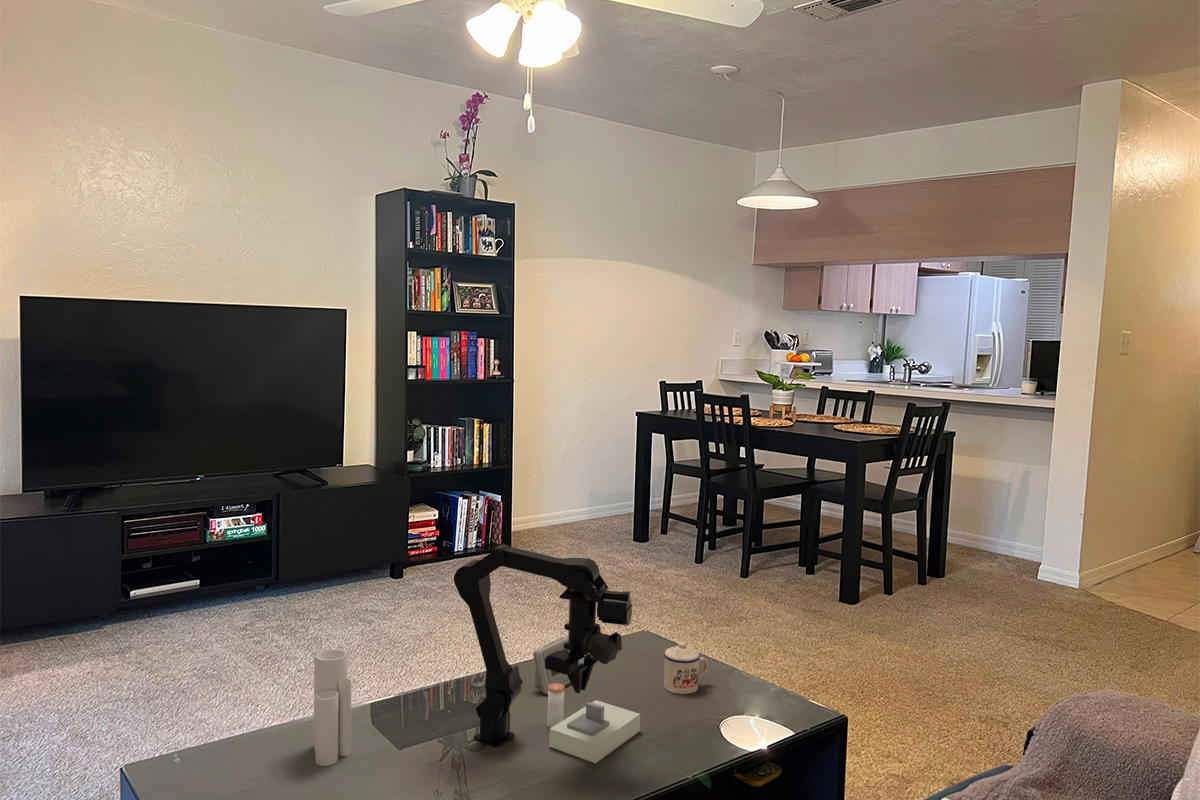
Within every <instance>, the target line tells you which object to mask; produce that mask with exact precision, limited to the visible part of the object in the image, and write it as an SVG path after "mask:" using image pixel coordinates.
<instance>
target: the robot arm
mask: <svg viewBox="0 0 1200 800" xmlns="http://www.w3.org/2000/svg"><path fill="white" fill-rule="evenodd" d="M500 567H505V568H508V569H511V570H514V571H515V570H517V571H519V572H523V573H528V574H533V575H537V576H539V577H545V578H548V579H552V580H554V581H556V582H558V583H559V584H560V585H562V586H563V587H565V588H566V589H565V590H564V591H563V592H561V594H560V595H559V598H560V599H561V600H569V602H568V622H567V623H565V624H564V628H563V629H564V630H565V631H568V635H567V636H568V642H566V643H564V648H565V649H569V651H570V652H568V653H565V652H562V651H556V652H554V653H552V654H550V655H548V656H547V657H546V658H545V669H548V670H552V671H555V672H558V673H562V674H565V675H566V674H567V676H568V678H569V680H570V682H571V683H570V684H571V686H572V688H573V690H574V693H576V694H581V690H582V691H585V690H586V689H587V686H588V682H589V680H590V677H591V673H592V671H593V668H594V666H595V665H596V664H597V663H598V662H599V663H601V664H603V665H607V664H610V662H612V661H615V660H616V659H617V656H618V653H619V652H620V651H621V650H622V649H623V647H622V645H623V642H622V635H621V634H620V633H618V632H617V631H616V632H613V633H612V634H608V633H602V632H601V626H600V624H599V623H597V622H596V618H598V620H599V621H601V623H603V624H610V625H619V626H621V625H622V626H630V624H631V622H632V621H631V620H632V614H633V604H632V599H631V592H630V591H625V590H624V591H618V590H617V591H615V590H609V586H608V584H607V583H606V581H605V579H604V578H603V577H602V575H601V574H600V567H599V566H598V564H597V562H596V561H595V560H594V559H591V558H587V557H565V558H561V557H554V556H551V555H547V554H543V553H538V552H534V551H530V550H526V549H520V548H517V547H512V546H510V545H508V544H504V543H503V544H500V545H498V546H497V547H495V548H493V550H491V552H490V553H488V554H487V555H486V556H485V555H484V557H483V558H481V559H472V560H469V561H468V562H466V563H465V564H463V565H462V566H460V567H459V568H458V569H457V570H456V571H455V572H454V575H453V583H454V585H455V588H456V590H457V592H458V594H459V597H460V598H461V599H462V600H463V602H464V603H465V604H466V605H467V606H468V608H469V611H470V616H471V618H472V622H473V627H474V629H475V630H474V631H475V633H476V638H477V641H478V644H479V647H480V648H479V649H480V652H481V655H482V658H483V659H482V660H483V663H484V665H485V666H484V667H485V670H486V671H485V682H484V690H485V697H484V698H483V699H482V700H481V701H480V702H479V704H478V705H476V707H475V711H476V716H477V717H478V718H479V733H477V734H475V735H474V737H473V738H474V739H475V740H477V741H479V742H481V743H484V744H488V745H490V746H492V747H498V746H500V745H502V744H503V743H506V742H507V741H508V740H510V739H512V738H514V737H515V733H514V732H511V731H510V730H511V725H510V724H511V713H510V707H511V705H512V704H513V703H514V702H515V700H516V699H517V698H518V697H519V695H520V693H521V692H522V684H523V683H524V681H523V680H522V678H521V676H520V669H519V666H518V665H515V666H511V665H510V663H509V662H508V661H507V660H508V659H507V657H506V653H505V650H504V647H503V643H502V640H501V636H500V632H499V628H498V625H497V622H496V618H495V615H494V612H493V611H494V610H493V607H492V604H491V598H490V596H491V586H492V582H491V574H492V573H493V572H494V571H496V570H497V569H499V568H500Z"/></svg>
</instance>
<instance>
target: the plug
mask: <svg viewBox="0 0 1200 800" xmlns="http://www.w3.org/2000/svg"><path fill="white" fill-rule="evenodd" d="M564 705H565V687H564V685H562V684H559V683H554V684H550V685H549V686H548V694H547V722H546V723H547V724H546V725H547V727H548V728H549V729H550V728H552V727H553V726H555V725H556V724H558V723H560V722H561V721H563V720H564V713H565V712H564V711H565V710H564V707H565V706H564Z"/></svg>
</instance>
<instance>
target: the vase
mask: <svg viewBox="0 0 1200 800" xmlns="http://www.w3.org/2000/svg"><path fill="white" fill-rule="evenodd" d="M313 658H314V659H313V660H314V663H313V667H314V669H313V670H314V671H313V677H314V678H313V680H314V683H313V685H314V686H313V709H314V710H313V749H314V751H315V753H314V754H315V756H314V757H315V759H314V760H315V763H316V764H317V765H318V766H319V767H327V766H328V767H329V766H332V765H334V764H336V763H337V762H338V761H339V757H343V756H344V757H348V756H350V755H351V754H352V680H351V679H350V678H348V652H347V651H346V650H343V649H338V648H337V649H326V650H322V651H318V652H317V653H316V654H314V657H313ZM349 754H350V755H349Z"/></svg>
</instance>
